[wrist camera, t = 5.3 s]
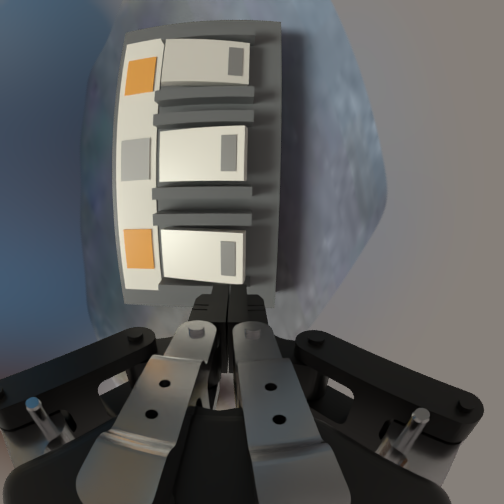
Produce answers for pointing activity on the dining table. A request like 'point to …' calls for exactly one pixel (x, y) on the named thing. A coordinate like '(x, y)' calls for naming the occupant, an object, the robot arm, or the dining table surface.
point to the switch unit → (195, 192)
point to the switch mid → (204, 154)
